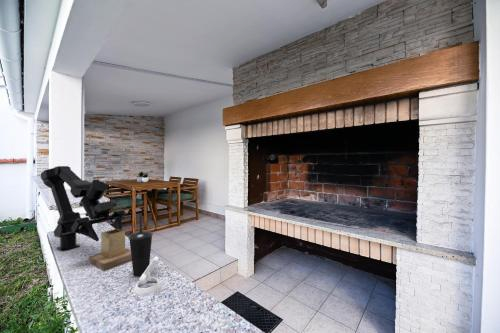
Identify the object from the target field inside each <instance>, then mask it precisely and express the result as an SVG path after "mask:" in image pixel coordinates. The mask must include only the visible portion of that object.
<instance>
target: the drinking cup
mask: <svg viewBox="0 0 500 333" xmlns="http://www.w3.org/2000/svg"><path fill="white" fill-rule="evenodd" d="M153 235H154V232H152V231H149V230H145V229H144V230H143V216H140V215H139V230H137V231H134V232H133V233H131V234H129V235H128V240H129V247H130V249H129V250H131V258H132V261H131V265H132V266H131V267H132V273H133V275H132V276H133V277H135V278H141V276H142V274H143V273H144V272H145V270H146V269H147V267H148V266H149V264H150V263H151V262H150V261H151V254H152V252H151V251H152V243H153V242H152V241H153Z"/></svg>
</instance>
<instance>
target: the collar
mask: <svg viewBox="0 0 500 333" xmlns="http://www.w3.org/2000/svg"><path fill="white" fill-rule="evenodd" d="M100 236H101V237H100V242H101V243H100V244H101V245H100V249H101V250H100V253H101V256H104V257H106V258H108V259H110V258H113V257H116V256H119V255H122V254H125V248H126V231H125V230H123V229H122V230H120V229H115V228H114V229H110V230H106V231H101V232H100Z"/></svg>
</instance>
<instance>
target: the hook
mask: <svg viewBox="0 0 500 333" xmlns="http://www.w3.org/2000/svg"><path fill="white" fill-rule="evenodd" d="M159 260H160V258H159V257H158V256H157V255H155V256H154V258H153V259H152V260H150V261H151V262H150V264H149V266H148V267H147V269H146V270H145V272H144V273H143V274H142V276H141V277H138V282H136V283H135V286H134V288H133V293H134V294H135V295H137V296H147V295H150V294H154V293H155V292H157V291H158V290H159V289H160V288H161V286H162V284H161V282H160V279H159V278H158V277H153V276H152V275H151V273H152V271H153V270H154V268H155V266H156V265H157V264H158V262H159ZM151 282H152V283H155V284H153V285H151V286H148V287H140V286H141V285H145V284H146V283H151Z"/></svg>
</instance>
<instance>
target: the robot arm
mask: <svg viewBox="0 0 500 333" xmlns="http://www.w3.org/2000/svg"><path fill="white" fill-rule="evenodd" d="M40 179H41V180H42V182H43V184H44V185H45V186H46V187H47V188H49V189H50V191H51V193H52V196H53V198H54V199H53V200H54V202H55V205H56V208H57V211H58V214H59V218H58V219H57V222H56V223H57V225H56V227H55V228H54V231H53V235H54V236H53V237H56V238H59V246H57V247H56V249H57V250H59V251H61V252H64V251H67V250H72V249H75V248H79V247H80V244H77V234H78V235H82V236H85V237H88V238H89V239H92V240H94V241H96V242H99V241H100V238H99V236H98V234H97V232H96V231H95V229H94V227H93V225H96V224H101V223H105V222H110V223H112V224H111V226H112V227H113V228H114V229H120V230H123V227H122V221H123V219H124V218H125V217H126V215H127V212H126V211H125V210H124V209H120V210H119V209H118V210H114V209H115V208H116V207H117V201H116V200H115V199H109V200H108V201H104V202H100V200H102V198H103V197H104V195H105V194H106V193H107V191H108V189H109V186H108V183H106V182H104V181H101V180H100V179H92V180H91V182H90V181H88V180H84V179H81V178H80V177H79V176H78V175H77V174H76V173H75V172H74V171H73V170H72V169H71V167H70V166H68V165H59V166H58V165H57V166H54V167H52V168H49V169H44V170H43V171H42V172H41V173H40ZM65 183H66V184H67V185H68V186H69V188H70V190H69V191H70V194H71V196H72V197H73V198H75V199H77V198H78V199H79V198H81V199H80V202H79V204H78V206H79V207H83V209H84V211H85V214H84V215H85V216H83V217H81V213H80V212H78V211H77V212H76V211H74V210H73V207H72V204H71V201H70V198H69V195H68V193H67V190H66V188H65ZM111 210H114V211H113V213H112V214H110V213H111ZM109 214H110V215H109Z"/></svg>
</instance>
